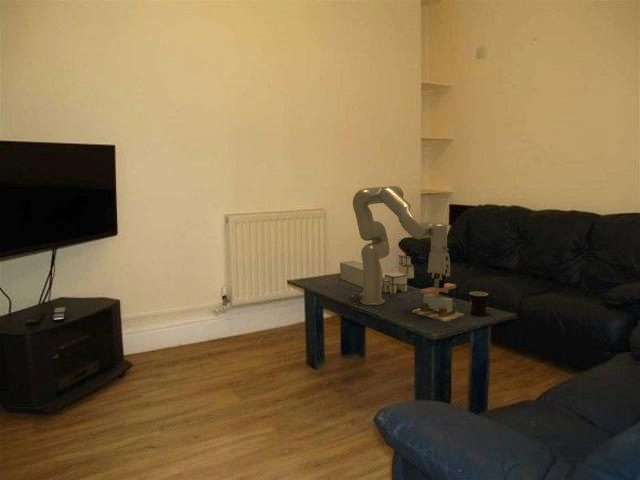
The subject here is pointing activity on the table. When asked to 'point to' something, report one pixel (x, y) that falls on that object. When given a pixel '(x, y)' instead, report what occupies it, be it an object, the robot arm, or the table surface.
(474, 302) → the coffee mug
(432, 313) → the jig
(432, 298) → the pale grey bar
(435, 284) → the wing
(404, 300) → the table surface
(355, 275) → the grey rectangular block
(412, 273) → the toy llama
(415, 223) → the robot arm
